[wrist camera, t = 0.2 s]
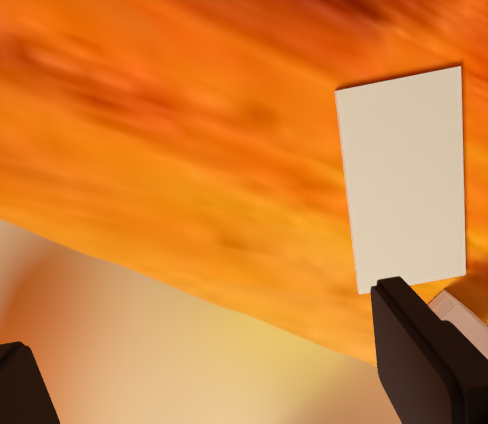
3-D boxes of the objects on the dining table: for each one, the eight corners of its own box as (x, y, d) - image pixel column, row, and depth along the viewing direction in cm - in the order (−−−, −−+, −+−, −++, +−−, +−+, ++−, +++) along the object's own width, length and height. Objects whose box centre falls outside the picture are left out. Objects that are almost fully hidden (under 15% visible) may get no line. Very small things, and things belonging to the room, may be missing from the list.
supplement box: (403, 325, 53) (454, 392, 41) (444, 287, 51) (509, 346, 39) (439, 353, 54) (498, 427, 42) (479, 317, 53) (553, 383, 41)
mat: (334, 90, 43) (336, 90, 43) (457, 66, 43) (461, 66, 42) (357, 291, 51) (359, 294, 50) (462, 272, 51) (465, 274, 50)
